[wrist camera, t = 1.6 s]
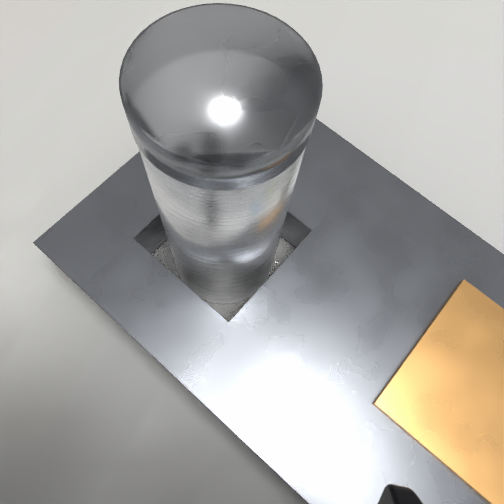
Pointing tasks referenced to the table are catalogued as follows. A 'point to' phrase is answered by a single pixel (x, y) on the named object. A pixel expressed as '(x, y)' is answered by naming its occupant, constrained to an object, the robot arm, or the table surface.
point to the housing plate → (324, 330)
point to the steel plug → (221, 137)
